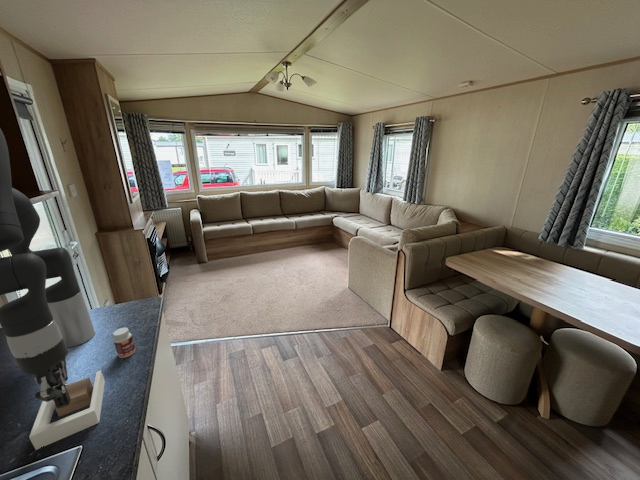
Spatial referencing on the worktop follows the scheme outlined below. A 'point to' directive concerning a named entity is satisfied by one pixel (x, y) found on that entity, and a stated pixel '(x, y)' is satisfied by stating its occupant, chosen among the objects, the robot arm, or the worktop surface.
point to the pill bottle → (123, 342)
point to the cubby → (67, 426)
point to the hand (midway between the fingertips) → (64, 404)
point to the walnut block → (77, 396)
